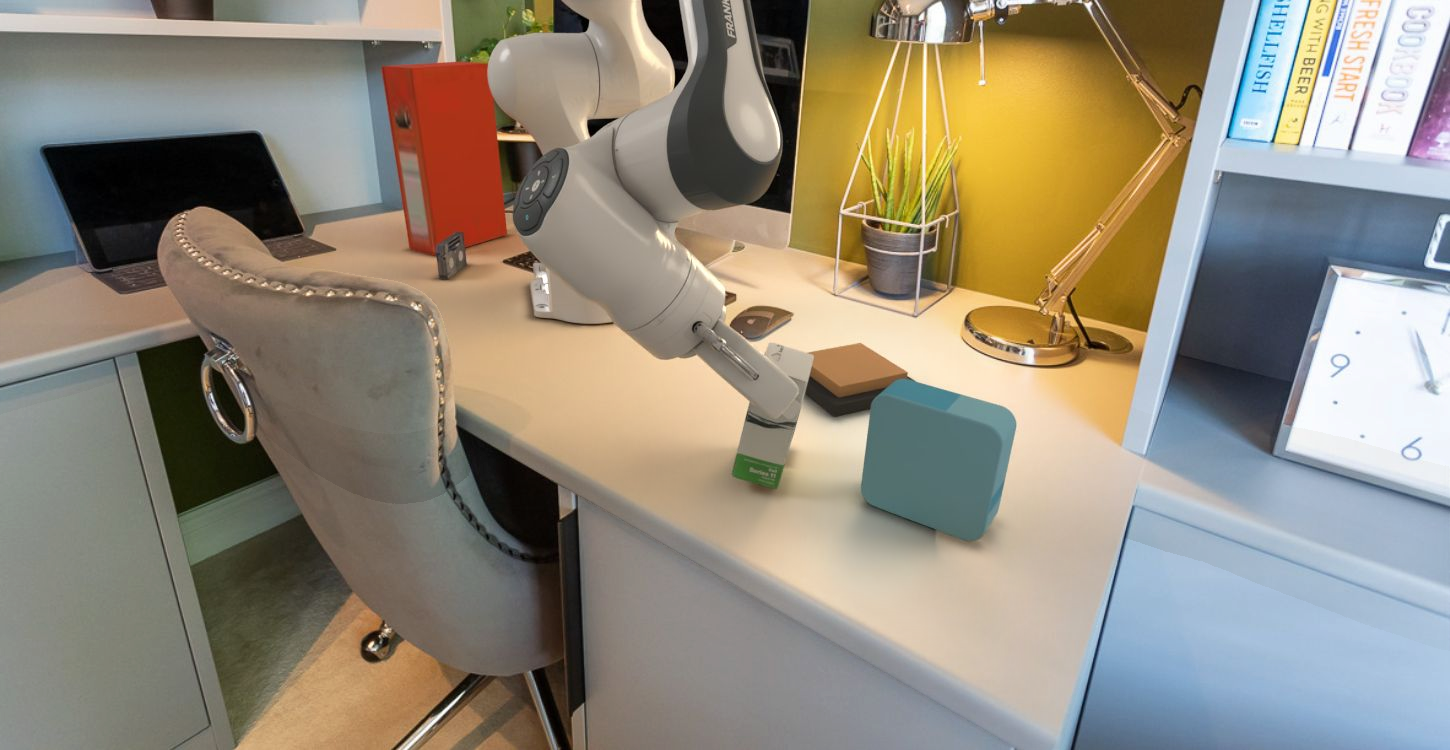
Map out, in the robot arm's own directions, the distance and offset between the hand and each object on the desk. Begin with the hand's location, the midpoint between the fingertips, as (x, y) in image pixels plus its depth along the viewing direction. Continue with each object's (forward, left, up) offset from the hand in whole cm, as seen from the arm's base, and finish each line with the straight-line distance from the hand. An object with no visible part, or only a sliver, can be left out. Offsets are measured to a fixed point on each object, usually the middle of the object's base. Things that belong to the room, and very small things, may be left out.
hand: (768, 390), depth 76 cm
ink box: (-1, 0, -9) cm, 9 cm away
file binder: (-96, -14, -10) cm, 97 cm away
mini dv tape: (-78, -18, -10) cm, 80 cm away
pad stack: (-14, +20, -9) cm, 26 cm away
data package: (+12, +11, -10) cm, 19 cm away
